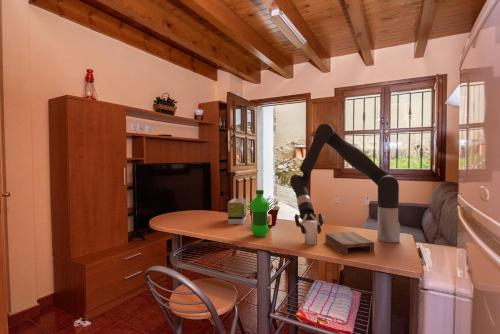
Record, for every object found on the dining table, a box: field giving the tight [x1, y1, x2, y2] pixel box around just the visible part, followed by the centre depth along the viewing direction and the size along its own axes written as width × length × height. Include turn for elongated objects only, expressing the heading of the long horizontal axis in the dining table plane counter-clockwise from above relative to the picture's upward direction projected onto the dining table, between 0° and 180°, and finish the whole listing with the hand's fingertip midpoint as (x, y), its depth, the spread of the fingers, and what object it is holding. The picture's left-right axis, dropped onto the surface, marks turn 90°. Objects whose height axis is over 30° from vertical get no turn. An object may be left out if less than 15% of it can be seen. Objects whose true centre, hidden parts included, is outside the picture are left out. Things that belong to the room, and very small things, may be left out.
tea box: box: [227, 198, 247, 226], centre depth 174 cm, size 15×10×15 cm
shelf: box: [324, 231, 375, 256], centre depth 123 cm, size 15×17×4 cm
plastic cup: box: [268, 205, 280, 227], centre depth 165 cm, size 11×11×12 cm
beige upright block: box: [304, 220, 318, 246], centre depth 129 cm, size 6×6×11 cm
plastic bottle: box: [249, 189, 270, 238], centre depth 143 cm, size 10×10×25 cm
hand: (311, 233), depth 128 cm, fingers open, 7 cm apart
